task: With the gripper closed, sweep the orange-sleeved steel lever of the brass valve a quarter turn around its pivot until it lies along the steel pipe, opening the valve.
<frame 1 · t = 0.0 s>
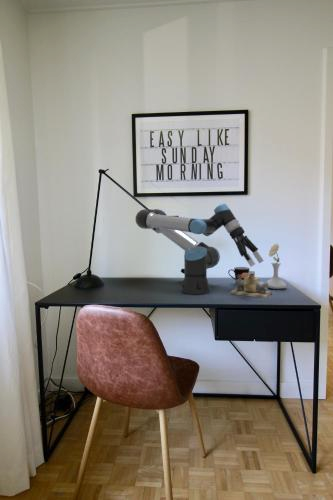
hand: (257, 263, 167), 15 cm above the table, tool tilted 35°, fingers open, 13 cm apart
controller: (190, 281, 200), on the table
flower in vase: (275, 288, 179), on the table
lever: (248, 273, 161), point 11 cm above the table, hinge at -90.0°
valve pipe: (251, 293, 167), on the table
coffee mug: (239, 285, 189), on the table
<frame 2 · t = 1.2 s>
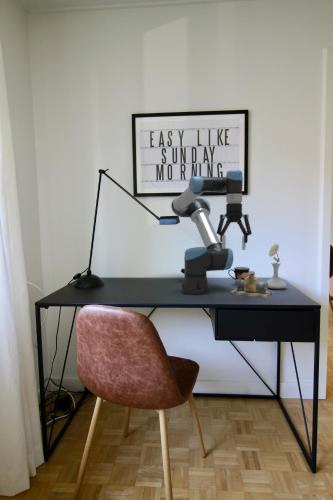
hand: (233, 249, 159), 24 cm above the table, tool pointing down, fingers open, 10 cm apart
nothing on the table moved.
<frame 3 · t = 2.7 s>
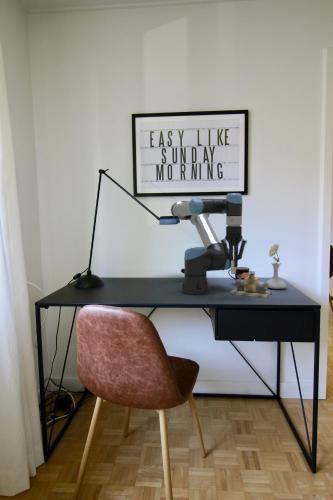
hand: (233, 273, 160), 12 cm above the table, tool pointing down, fingers closed
nothing on the table moved.
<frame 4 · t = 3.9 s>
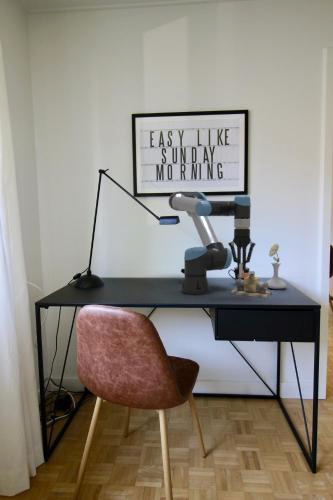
hand: (241, 276, 158), 10 cm above the table, tool pointing down, fingers closed
lever: (248, 273, 161), point 11 cm above the table, hinge at -89.8°, touching gripper
everything else where it was.
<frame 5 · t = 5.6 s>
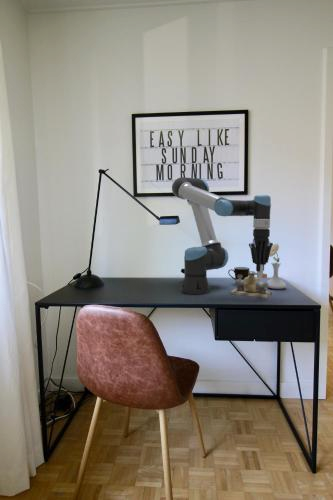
hand: (259, 277, 155), 10 cm above the table, tool pointing down, fingers closed
lever: (257, 274, 161), point 11 cm above the table, hinge at -40.2°, touching gripper
everything else where it was.
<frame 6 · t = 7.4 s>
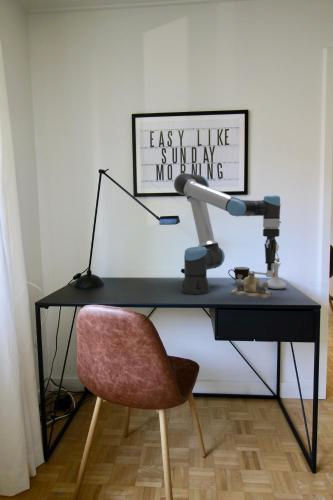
hand: (269, 276, 158), 10 cm above the table, tool pointing down, fingers closed
lever: (261, 273, 162), point 11 cm above the table, hinge at -6.0°, touching gripper
everything else where it was.
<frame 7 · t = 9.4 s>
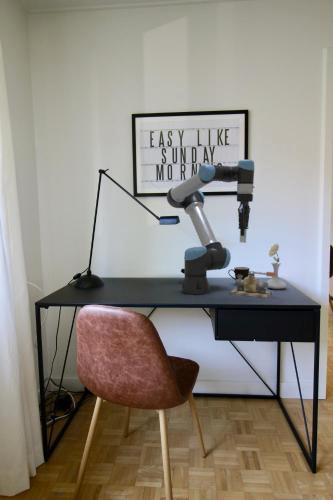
hand: (242, 242, 159), 27 cm above the table, tool pointing down, fingers closed
lever: (261, 273, 162), point 11 cm above the table, hinge at -4.3°
everything else where it was.
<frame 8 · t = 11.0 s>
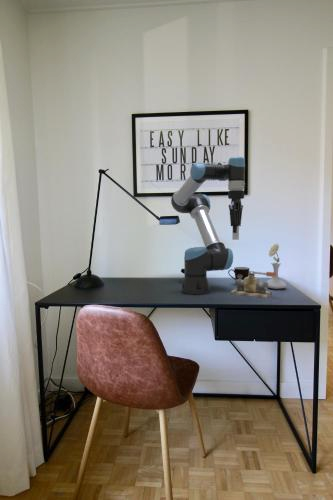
hand: (235, 239, 158), 28 cm above the table, tool pointing down, fingers closed
nothing on the table moved.
at the end: lever at -4° (first picture: -90°) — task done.
